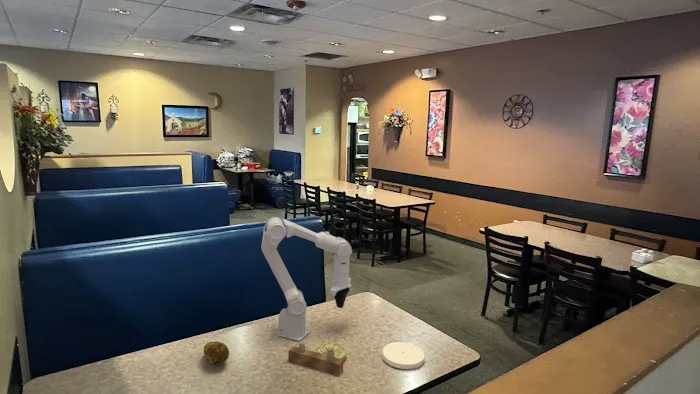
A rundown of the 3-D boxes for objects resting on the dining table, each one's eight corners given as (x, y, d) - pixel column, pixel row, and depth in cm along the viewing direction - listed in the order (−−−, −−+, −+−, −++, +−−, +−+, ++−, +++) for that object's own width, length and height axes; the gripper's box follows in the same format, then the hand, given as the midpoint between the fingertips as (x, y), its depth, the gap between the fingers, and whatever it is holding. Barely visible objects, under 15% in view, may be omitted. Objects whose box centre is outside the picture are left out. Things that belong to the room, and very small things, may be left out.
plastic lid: (413, 346, 148) (414, 340, 148) (431, 369, 135) (431, 361, 134) (376, 351, 144) (376, 344, 144) (390, 374, 131) (391, 366, 131)
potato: (231, 350, 140) (230, 328, 139) (228, 372, 128) (228, 348, 127) (205, 352, 139) (204, 330, 137) (199, 375, 126) (199, 350, 125)
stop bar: (288, 361, 135) (288, 344, 134) (293, 357, 138) (293, 340, 137) (338, 376, 128) (339, 358, 127) (342, 371, 131) (343, 353, 130)
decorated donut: (332, 371, 131) (332, 360, 131) (307, 359, 137) (307, 348, 137) (352, 357, 139) (352, 347, 139) (327, 346, 146) (327, 336, 145)
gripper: (343, 280, 145) (341, 317, 147) (358, 268, 158) (357, 301, 160) (325, 276, 148) (323, 312, 150) (341, 265, 161) (340, 298, 163)
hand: (340, 307), depth 155 cm, fingers closed
